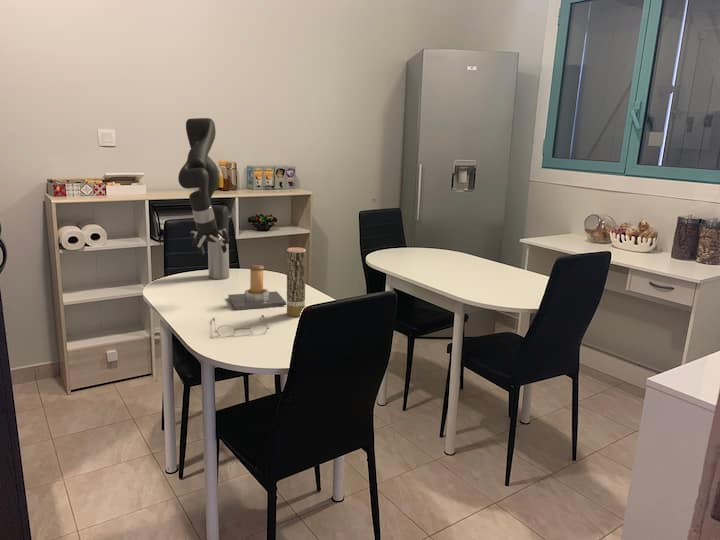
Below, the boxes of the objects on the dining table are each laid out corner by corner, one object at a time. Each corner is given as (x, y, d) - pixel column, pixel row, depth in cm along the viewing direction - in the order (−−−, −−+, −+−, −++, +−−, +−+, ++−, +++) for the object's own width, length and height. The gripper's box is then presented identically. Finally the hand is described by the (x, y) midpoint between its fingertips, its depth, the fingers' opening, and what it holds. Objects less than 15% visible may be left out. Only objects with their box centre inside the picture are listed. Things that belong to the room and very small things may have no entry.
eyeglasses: (214, 338, 187) (214, 326, 186) (212, 321, 205) (212, 310, 204) (269, 334, 192) (269, 323, 191) (262, 318, 210) (262, 308, 209)
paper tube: (297, 310, 217) (297, 246, 211) (308, 314, 212) (309, 249, 206) (283, 313, 212) (283, 248, 206) (294, 318, 208) (294, 252, 202)
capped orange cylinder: (248, 296, 227) (248, 265, 224) (262, 296, 228) (262, 264, 226) (250, 300, 222) (251, 268, 219) (264, 299, 224) (265, 268, 221)
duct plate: (228, 298, 229) (228, 287, 228) (276, 294, 236) (276, 284, 235) (234, 310, 215) (234, 298, 214) (286, 305, 222) (286, 294, 221)
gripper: (224, 211, 218) (233, 246, 227) (188, 214, 218) (198, 249, 227) (221, 220, 211) (230, 256, 221) (183, 224, 212) (194, 259, 221)
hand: (213, 253), depth 224 cm, fingers open, 8 cm apart
